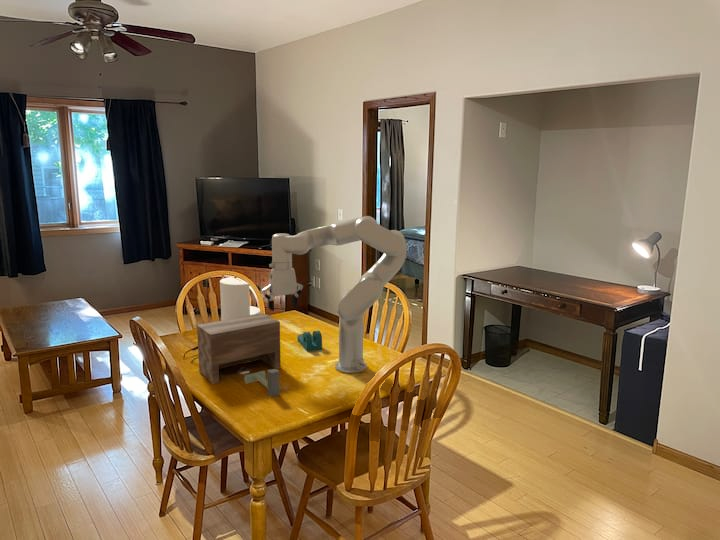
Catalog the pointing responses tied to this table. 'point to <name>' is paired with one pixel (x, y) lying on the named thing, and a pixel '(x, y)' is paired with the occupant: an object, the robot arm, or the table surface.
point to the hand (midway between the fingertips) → (283, 308)
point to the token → (243, 370)
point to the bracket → (311, 341)
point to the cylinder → (235, 299)
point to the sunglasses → (193, 350)
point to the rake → (270, 384)
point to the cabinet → (237, 343)
